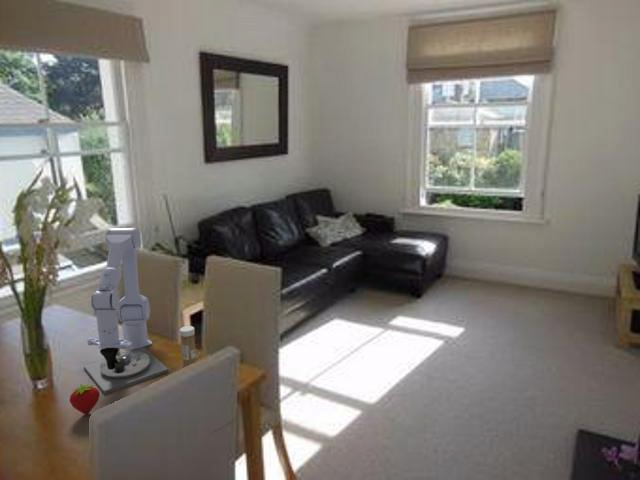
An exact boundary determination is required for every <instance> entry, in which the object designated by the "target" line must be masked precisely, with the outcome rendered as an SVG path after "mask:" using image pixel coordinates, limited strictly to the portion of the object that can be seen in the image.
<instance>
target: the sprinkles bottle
mask: <svg viewBox="0 0 640 480" xmlns="http://www.w3.org/2000/svg"><path fill="white" fill-rule="evenodd" d="M179 334H180V342H181V345H180V346H181V354H182V355H181V357H182V367H183V368H184V367H185V366H188V365H190V364H192V363H195V362H196V363H197V352H196V342H195V341H196V340H195V339H196V338H195V327H194V326H192V325H185V326H183V327H181V328H180V329H179Z"/></svg>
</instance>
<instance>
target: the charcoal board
mask: <svg viewBox="0 0 640 480" xmlns="http://www.w3.org/2000/svg"><path fill="white" fill-rule="evenodd" d="M134 350H135V351H136V352H143V353H145V354H147V355H148V356H149V358H150V365H149V367H148V368H147V369H146V370H145V371H143V372H141V373H140V374H137V375H135V376H131V377H127V378H120V379H113V378H107V377H105V376H103V375H102V374H101V372H100V365H101V363H102V362H103V361H104V360H105V358H103V359H101V360H98V361H94V362H92V363H89V364H86V365H85V364H84V365H83V370H84V371H85V372H86V373H87V374H88V375H89V376H90V378H91V379H92V380H93V382H94V383H95V384H96V385H97V387H98V389H100V391H102V393H103V394H104V395H106V394H109V393H112V392H115V391H118V390H121V389H123V387H124V388H127V387H129V386H132V385H134V384H138V383H141V382H143V380H144V381H146V380H149V379H152V378H155V377H157V376H158V377H159V376H160V375H163V374H165V373H168V372H169V368H168V367H167V366H166V365H165V364H163V362H161V361H160V360H159V359H157V357H156V356H155V355H153V354H152V353H151V352H150V351H149V350H148V349H147V348H145V346H144V347H141V348H138V349H134ZM126 386H127V387H126ZM120 388H121V389H120Z"/></svg>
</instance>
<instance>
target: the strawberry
mask: <svg viewBox="0 0 640 480" xmlns="http://www.w3.org/2000/svg"><path fill="white" fill-rule="evenodd" d="M72 391H73V392H71V394H70V396H69V403H70V404H71V406H72V407H73V408H74V409H75V410H77V411H78V412H80V413H82V414H84V415H88V414H89V413H91V411H92V410H93V409H94V407H95V406H96V405H97V403H98V401H99V398H100V391H99V388H96V387H94V385H89V384H86V385H83V383H80V387H76V388H73V389H72Z"/></svg>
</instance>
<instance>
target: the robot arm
mask: <svg viewBox="0 0 640 480" xmlns="http://www.w3.org/2000/svg"><path fill="white" fill-rule="evenodd" d="M104 238H105V243H106V246H107V248H108V253H107V254H108V255H107V262H106V268H104V269H103V270H101V273H100V276H99V280H98V284H97V287H96V291H95V292H93V293H92V294H91V297H90V298H91V300H90V305H91V306H90V307H91V309H92V310H93V315H94V316H95V317H96V323H97V325H96V326H97V334H98V336H97V337H96V336H95V337H94V336H90V337H89V338H88V339H87V340H86V341H87V346H90V347H91V346H98V349H99V353H100V354H101V355H102V357H104V358H103V359H106V361H107V367H108V369H110V370H113V369H114V360H116V355H117V352H118V350H119V349H121V350H125V352H130V351H131V350H136V349H140V348H143V347H144V348H145V347H147V346H150V345H152V344H153V342H152V341H151V340H150V339H148V329H147V321H148V320H149V319H150V317H151V307H150V306H151V305H150V303H149V298H147V297H146V296H145V295H142V294H141V293H140V281H139V271H138V268H139V267H138V257H137V253H138V252H137V251H138V250H140V249H141V248H142V239H141V238H142V237H141V232H140V230H139V229H138V227H122V228H121V227H117V228H116V227H108V228H107V230H106V231H105V237H104ZM121 264H122V272H123V273H121V272H120V271H119V269H120V266H121ZM122 275H123V285H124V286H123V287H124V296H123V297H122V298H121V299H119V293H120V291H119V286H120V281H121V276H122ZM118 319H119V321H120V322H122V324H121V325H122V334H123V335H122V336H123V339H122V338H120V332H119V331H120V330H119V323H118Z"/></svg>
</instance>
